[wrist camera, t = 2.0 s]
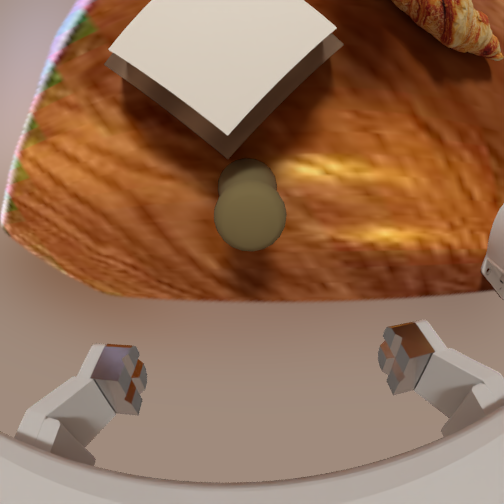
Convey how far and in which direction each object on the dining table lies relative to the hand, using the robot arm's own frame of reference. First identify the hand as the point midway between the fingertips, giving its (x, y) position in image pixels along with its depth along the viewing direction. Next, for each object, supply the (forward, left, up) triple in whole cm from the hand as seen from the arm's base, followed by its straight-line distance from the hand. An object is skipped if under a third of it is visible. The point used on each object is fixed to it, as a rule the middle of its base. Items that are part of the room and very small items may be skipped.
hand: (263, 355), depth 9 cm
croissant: (-2, -31, -23) cm, 39 cm away
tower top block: (+11, -9, -18) cm, 23 cm away
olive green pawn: (0, 0, -23) cm, 23 cm away
